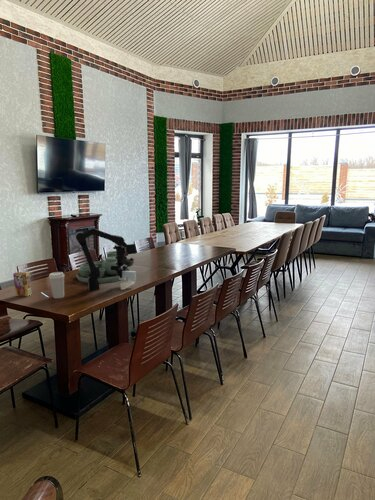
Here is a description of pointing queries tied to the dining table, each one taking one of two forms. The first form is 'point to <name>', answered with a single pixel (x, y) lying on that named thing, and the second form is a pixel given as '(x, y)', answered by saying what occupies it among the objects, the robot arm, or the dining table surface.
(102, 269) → the tea set
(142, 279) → the dining table surface
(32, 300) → the dining table surface
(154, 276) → the dining table surface
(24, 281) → the candy box
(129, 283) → the slotted rib
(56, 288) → the coffee cup
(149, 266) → the dining table surface
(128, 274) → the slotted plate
